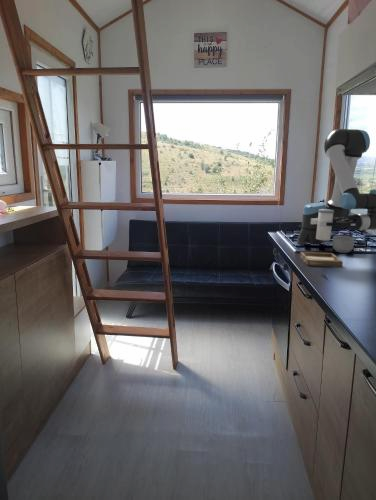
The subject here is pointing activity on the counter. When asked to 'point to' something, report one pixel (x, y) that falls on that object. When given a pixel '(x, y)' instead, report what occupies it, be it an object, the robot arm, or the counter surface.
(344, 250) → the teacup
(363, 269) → the counter surface
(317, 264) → the tray
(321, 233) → the canister
